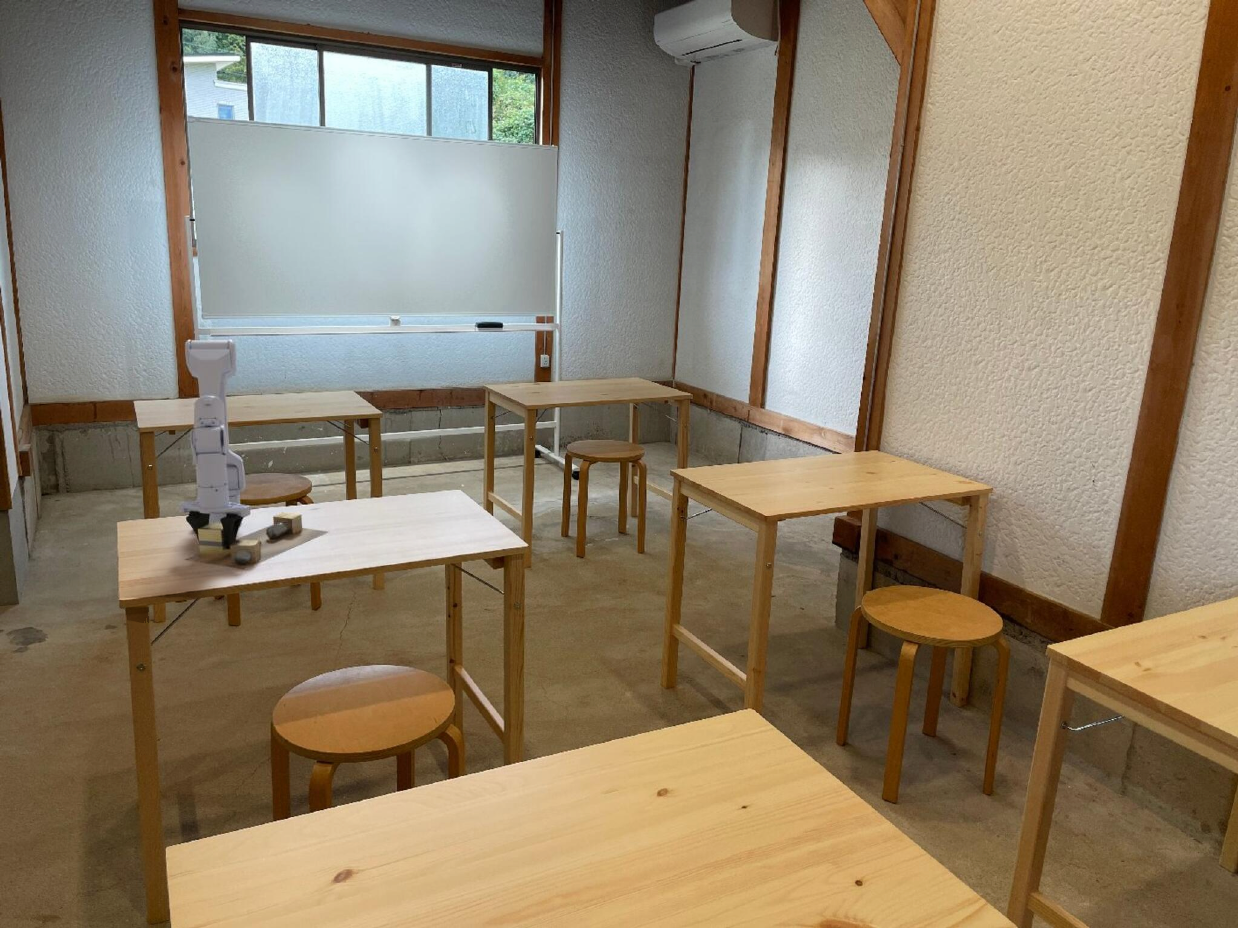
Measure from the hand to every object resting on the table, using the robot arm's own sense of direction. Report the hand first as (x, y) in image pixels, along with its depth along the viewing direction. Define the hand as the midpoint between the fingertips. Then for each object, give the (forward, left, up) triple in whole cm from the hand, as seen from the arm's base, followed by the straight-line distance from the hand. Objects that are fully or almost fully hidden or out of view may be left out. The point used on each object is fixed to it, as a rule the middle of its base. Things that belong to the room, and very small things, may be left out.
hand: (217, 547), depth 185 cm
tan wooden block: (0, 0, -1) cm, 1 cm away
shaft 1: (+8, 0, -1) cm, 8 cm away
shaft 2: (+3, +16, -1) cm, 17 cm away
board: (+4, +8, -3) cm, 9 cm away
